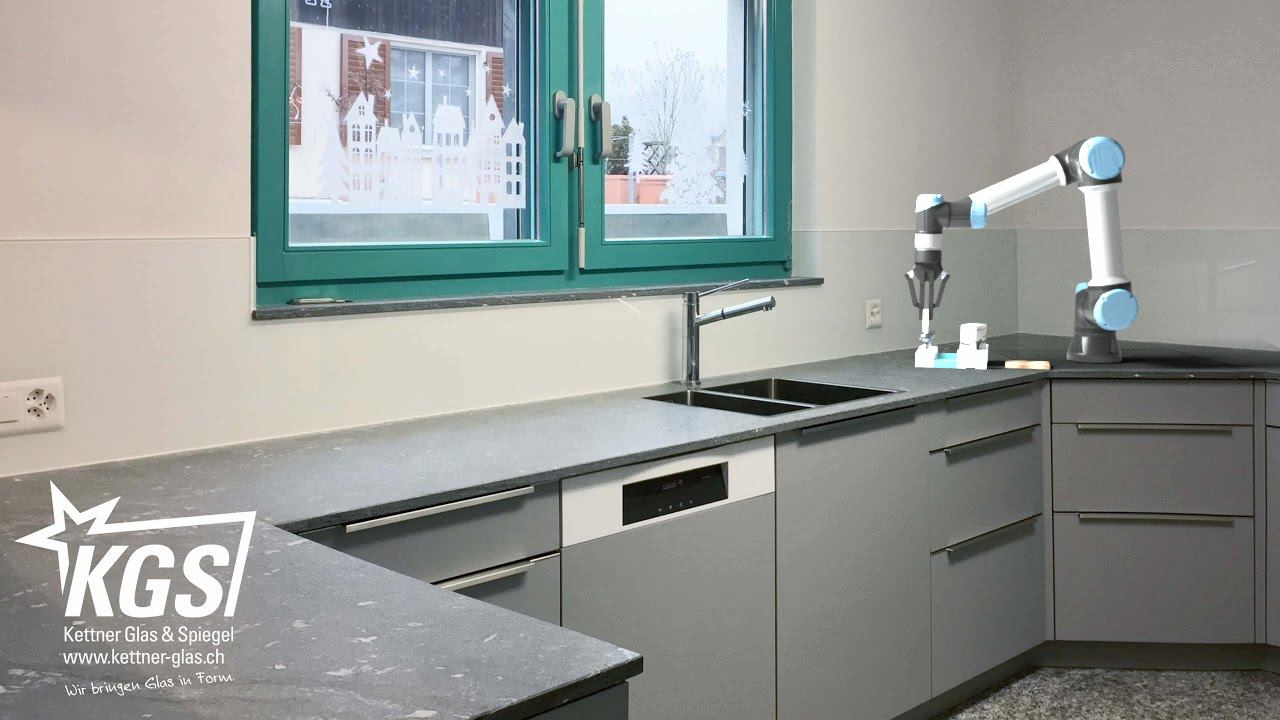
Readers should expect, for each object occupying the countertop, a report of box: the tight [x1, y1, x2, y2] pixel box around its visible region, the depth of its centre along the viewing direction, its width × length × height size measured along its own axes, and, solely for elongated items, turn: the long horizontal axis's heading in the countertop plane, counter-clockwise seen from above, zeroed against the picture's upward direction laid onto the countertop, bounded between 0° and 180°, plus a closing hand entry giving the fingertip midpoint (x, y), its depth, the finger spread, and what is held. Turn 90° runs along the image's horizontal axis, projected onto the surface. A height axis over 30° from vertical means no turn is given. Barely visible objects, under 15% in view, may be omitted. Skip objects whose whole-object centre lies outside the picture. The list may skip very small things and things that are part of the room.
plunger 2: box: [919, 333, 933, 352], centre depth 347 cm, size 4×4×7 cm
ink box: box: [959, 322, 988, 350], centre depth 348 cm, size 8×5×12 cm, turn 143°
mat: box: [1004, 359, 1051, 370], centre depth 344 cm, size 12×10×1 cm
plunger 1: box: [921, 329, 936, 348], centre depth 357 cm, size 4×4×7 cm
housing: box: [914, 343, 989, 370], centre depth 350 cm, size 20×19×5 cm
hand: (925, 331), depth 347 cm, fingers closed
